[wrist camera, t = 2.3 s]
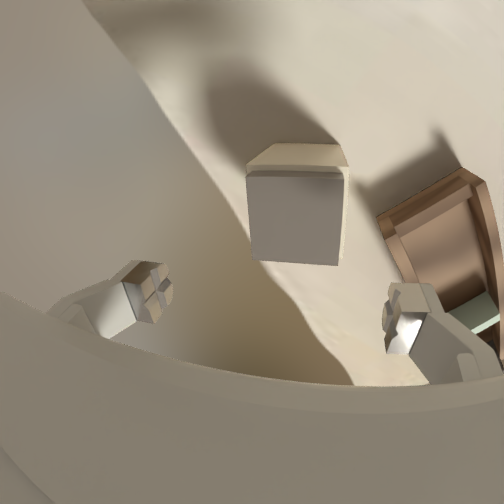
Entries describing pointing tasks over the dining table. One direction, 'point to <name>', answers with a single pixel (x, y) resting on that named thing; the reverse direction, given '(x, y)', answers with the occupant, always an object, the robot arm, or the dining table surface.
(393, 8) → the dining table surface
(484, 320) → the plate
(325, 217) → the cream rectangular box
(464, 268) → the pusher lane
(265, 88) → the dining table surface
